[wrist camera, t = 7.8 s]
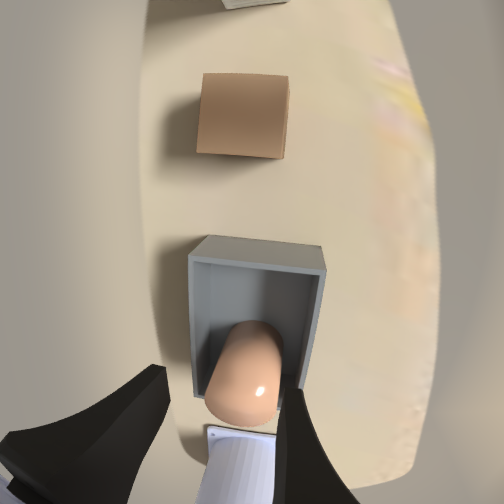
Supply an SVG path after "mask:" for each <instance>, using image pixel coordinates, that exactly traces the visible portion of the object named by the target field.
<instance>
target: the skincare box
mask: <svg viewBox="0 0 504 504" xmlns="http://www.w3.org/2000/svg"><path fill="white" fill-rule="evenodd" d="M288 1H290V0H222V2H223V4H224V6H225V8H226V9H236V8H243V7H250V6H256V5H265V4H272V3H281V2H288Z"/></svg>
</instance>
